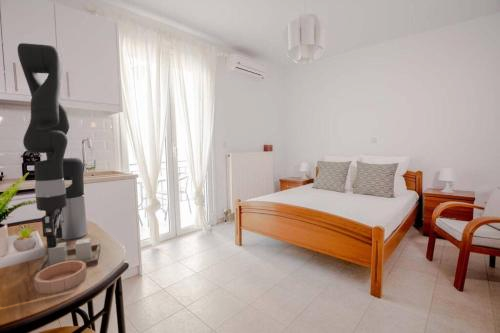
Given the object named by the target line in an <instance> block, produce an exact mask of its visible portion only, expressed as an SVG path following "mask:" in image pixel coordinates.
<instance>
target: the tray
mask: <svg viewBox="0 0 500 333" xmlns="http://www.w3.org/2000/svg"><path fill="white" fill-rule="evenodd" d="M91 248H92V256H91V259H89V260H84V261H83V262H85V263H86V267H90V266H95V265H98V263H99V258H100V254H101V243H98V244H91ZM67 256H68V260H67V261H71V260H74V261H77V260H76V250H75V247H73V248H69V249H68V248H67ZM49 266H50V261H49V252H47V253H46V255H45V256H44V258H43V260H42V262H41V263H40V264H39V266H38V268H37V269H36V270H35V275H36V274H37V273H38V272H40V271H41V270H43V269H45V268H46V267H49Z"/></svg>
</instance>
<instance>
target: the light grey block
mask: <svg viewBox="0 0 500 333" xmlns="http://www.w3.org/2000/svg"><path fill="white" fill-rule="evenodd" d="M67 246H68V245H67V242H66V241H64V242H58V243H57V246H56V247H55V248H47V251H48V253H49V261H50V266H52V265H54V264H57V263H61V262H66V261H67V260H68V256H67V249H68V247H67Z"/></svg>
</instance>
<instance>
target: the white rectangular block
mask: <svg viewBox="0 0 500 333" xmlns="http://www.w3.org/2000/svg"><path fill="white" fill-rule="evenodd" d="M91 239H92V238H90V237H89V238H83V239H77V240H76V242H75V244H74V246H75V247H74V248H75V250H76V260H77V261H84V260H89V259H91V256H92V248H91V245H92V240H91Z"/></svg>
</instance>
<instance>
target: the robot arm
mask: <svg viewBox="0 0 500 333" xmlns="http://www.w3.org/2000/svg"><path fill="white" fill-rule="evenodd" d="M17 56H18V59H19V62H20V66H21V69H22V71H23V76H24V78H25V81H26V83H27V86H28V89H29V92H30V95H31V100H30V120H29V124H28V127H27V129H26V131H25V133H24V136H23V141H22V143H23V147H24V148H25V150H26V151H28V152H29V153H31V154H45V156H46V159H44V160H39V161H36V162H35V163H34V165H33V170H34V178H35V180H34V181H35V184H34V193H35V203H36V210H37V211H41V212H42V211H44V212H45V215H44V216H42V217H41V225H42V226H41V227H42V237H43V238H44V237H46V247H47V249H49V248H55V247H56V246H57V239H62V240H74V239H79V238H81V237H84V236H86V235H87V234H88V227H87V226H88V224H87V215H86V214H87V212H86V203H85V201H86V200H85V192H84V190H85V187H84V185H85V182H84V164H83V161H82V160H81V158H78V157H67V158H66V157H65V154H66V150H67V146H68V143H69V142H68V137H67V134H68V132H69V130H70V123H69V119H68V112H67V110H66V108H65V107H64V106H63V104H62V103H61V102H60V101H59V96H60V88H61V82H62V81H61V80H62V73H63V62H62V58H61V57H62V56H61V55H60V51H59V49H57V48H56V47H55V46H54V45H50V44H49V45H48V44H36V43H24V42H20V43H19V44H18V45H17ZM38 74H48V75H47V78H46V79H45V80H44V82H43V83H42V81H41V78H40V77H39V75H38ZM64 157H65V158H64ZM65 181H71V184H70V185H68V186H67V187H66V183H65ZM49 230H50V231H49Z"/></svg>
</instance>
